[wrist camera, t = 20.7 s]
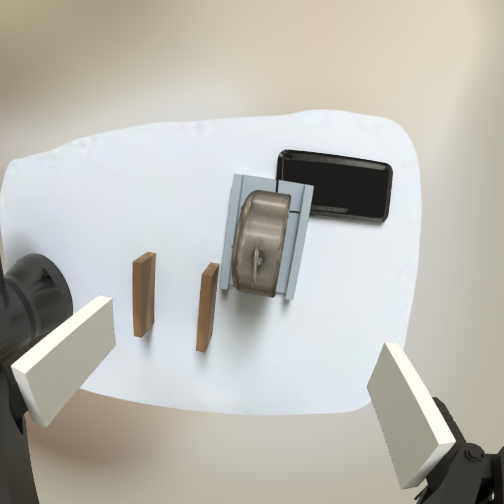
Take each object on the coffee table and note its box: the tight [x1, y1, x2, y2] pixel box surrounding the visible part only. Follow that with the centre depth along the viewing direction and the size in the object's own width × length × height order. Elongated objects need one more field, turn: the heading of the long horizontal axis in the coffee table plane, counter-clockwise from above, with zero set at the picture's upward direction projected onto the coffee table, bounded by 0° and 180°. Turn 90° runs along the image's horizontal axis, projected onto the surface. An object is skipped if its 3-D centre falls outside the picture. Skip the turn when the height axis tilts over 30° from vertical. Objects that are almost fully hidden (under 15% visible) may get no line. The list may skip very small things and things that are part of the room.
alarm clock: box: [231, 190, 291, 298], centre depth 30 cm, size 11×5×16 cm, turn 171°
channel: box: [133, 252, 219, 352], centre depth 39 cm, size 10×11×5 cm
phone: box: [276, 150, 393, 222], centre depth 36 cm, size 8×1×15 cm
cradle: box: [220, 174, 314, 300], centre depth 37 cm, size 10×14×2 cm, turn 172°
